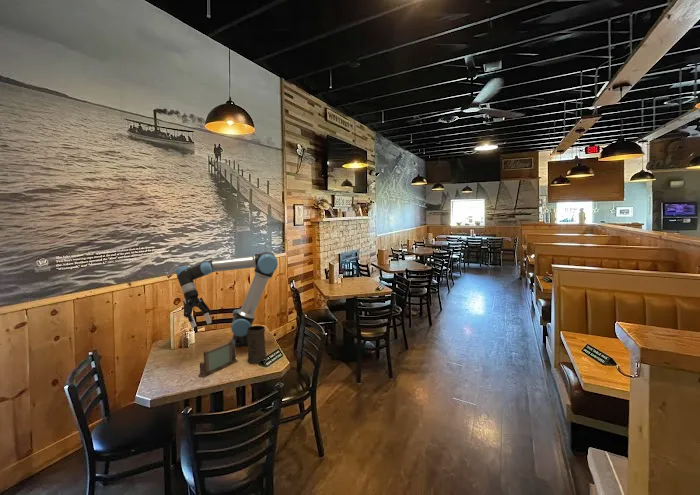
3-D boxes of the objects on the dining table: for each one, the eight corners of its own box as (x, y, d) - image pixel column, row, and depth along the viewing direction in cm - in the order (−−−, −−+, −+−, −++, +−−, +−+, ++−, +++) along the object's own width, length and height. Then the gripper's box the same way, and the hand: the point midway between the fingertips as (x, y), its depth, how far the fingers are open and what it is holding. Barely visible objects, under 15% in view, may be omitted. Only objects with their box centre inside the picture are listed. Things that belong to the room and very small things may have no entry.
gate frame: (233, 360, 200) (232, 338, 199) (237, 361, 198) (236, 340, 197) (198, 376, 180) (197, 352, 179) (202, 377, 178) (201, 353, 177)
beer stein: (265, 363, 195) (264, 329, 194) (246, 365, 193) (245, 330, 192) (267, 354, 210) (266, 322, 209) (249, 355, 208) (249, 323, 208)
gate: (230, 360, 197) (229, 341, 196) (232, 361, 196) (231, 342, 195) (204, 371, 182) (203, 351, 181) (206, 372, 181) (205, 352, 180)
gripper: (198, 293, 213) (210, 324, 210) (169, 295, 189) (181, 331, 185) (208, 288, 212) (220, 319, 208) (179, 290, 187) (192, 325, 184)
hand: (202, 325), depth 197 cm, fingers open, 13 cm apart
